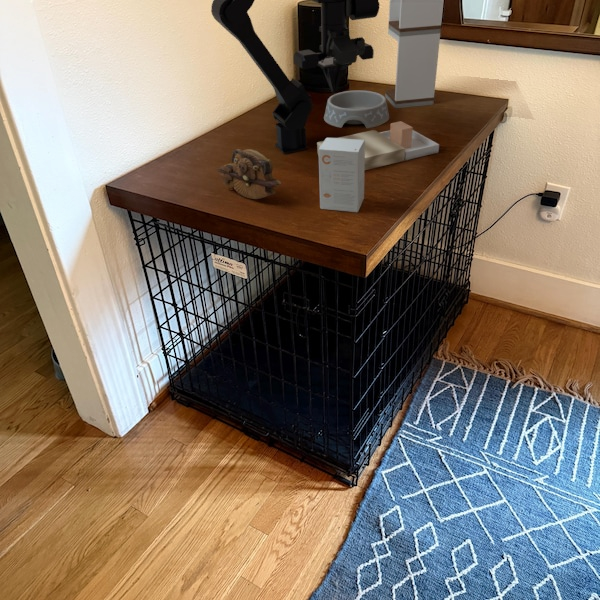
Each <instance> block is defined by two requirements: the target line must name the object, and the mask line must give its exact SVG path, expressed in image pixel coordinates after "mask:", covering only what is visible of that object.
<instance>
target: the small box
mask: <svg viewBox="0 0 600 600" xmlns="http://www.w3.org/2000/svg"><path fill="white" fill-rule="evenodd" d="M323 141H324V142H323V143H322V145H321V146H320V147H319V149H318V152H319V155H318V173H319V174H318V176H319V177H318V178H319V180H318V181H319V185H318V186H319V208H320V209H321V210H331V211H340V212H341V211H342V212H351V213H359V210H360V208H361V206H362V204H363V201H364V199H365V170H364V168H365V140H358V139H342V138H339V137H326V138H325V139H324V140H323Z"/></svg>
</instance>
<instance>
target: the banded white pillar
mask: <svg viewBox="0 0 600 600" xmlns="http://www.w3.org/2000/svg"><path fill="white" fill-rule="evenodd" d="M388 7H389V8H388V10H389V11H388V27H387V29H388V30H387V34H388V35H389V36H391V37H392V38H393V39H394V40H396V41H397V56H396V57H397V58H396V70H395V71H396V76H395V88H394V89H385V90H384V91H385V93H384V97H385V98H386V101H388V102H389V103H390V105H392V107H393V108H395V109H400V108H401V109H404V108H411V107H421V106H432V105H434V102H435V101H434V100H435V90H436V82H437V80H436V79H437V70H438V61H439V60H438V59H439V50H440V40H441V39H440V38H441V31H442V19H443V13H444V12H443V11H444V9H443V8H444V0H389V6H388Z"/></svg>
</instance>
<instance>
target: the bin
mask: <svg viewBox="0 0 600 600" xmlns="http://www.w3.org/2000/svg"><path fill="white" fill-rule="evenodd" d="M379 133H380V134H382V135H384V136H385V137H387V138H389V139H390V129H389V130H385V131H380V132H379ZM439 150H440V144H439V143H437V142H436V141H433V140H432V139H430V138H428V137H426V136H425V135H423V134H421V133H419V132H418V131H416V130H414V129H413V130H412V143H411V148H406V149H405V157H404V161H408V160H409V161H410V160H412V159H417V158H421V157H426V156H428V155H434V154H438V153H439Z"/></svg>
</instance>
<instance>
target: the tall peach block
mask: <svg viewBox="0 0 600 600" xmlns="http://www.w3.org/2000/svg"><path fill="white" fill-rule="evenodd" d="M413 128H414V127H413V126H411V125H409V124H407V123H405V122H403V121H396V122H392V123H390V129H389V130H390V140H392V141H393V142H395V143H397V144H398V145H400V146H402V147H403V148H405V149H406V148H411V143H412V130H414V129H413Z"/></svg>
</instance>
